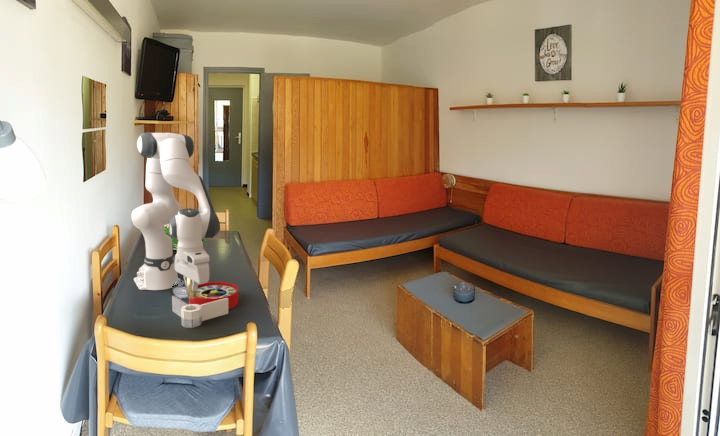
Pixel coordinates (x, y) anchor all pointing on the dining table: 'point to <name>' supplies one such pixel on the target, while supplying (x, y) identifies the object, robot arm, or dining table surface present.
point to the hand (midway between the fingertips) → (191, 288)
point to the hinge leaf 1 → (176, 308)
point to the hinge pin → (190, 292)
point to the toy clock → (216, 293)
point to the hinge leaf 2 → (205, 310)
